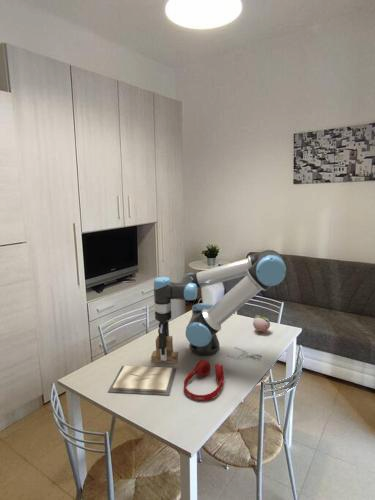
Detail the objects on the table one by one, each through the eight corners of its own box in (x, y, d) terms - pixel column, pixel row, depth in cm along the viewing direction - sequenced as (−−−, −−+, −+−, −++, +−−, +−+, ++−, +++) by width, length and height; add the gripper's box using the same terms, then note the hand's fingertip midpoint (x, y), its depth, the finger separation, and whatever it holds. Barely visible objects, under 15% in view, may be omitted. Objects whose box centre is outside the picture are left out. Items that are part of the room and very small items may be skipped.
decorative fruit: (250, 333, 181) (250, 316, 179) (255, 327, 187) (255, 311, 185) (266, 337, 176) (267, 319, 174) (271, 331, 183) (272, 314, 180)
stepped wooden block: (178, 357, 158) (177, 336, 155) (176, 362, 153) (176, 341, 151) (153, 356, 159) (152, 335, 157) (151, 361, 154) (150, 340, 152)
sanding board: (176, 368, 148) (176, 365, 148) (169, 395, 129) (169, 392, 129) (122, 366, 151) (122, 363, 150) (107, 392, 132) (107, 389, 132)
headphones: (199, 368, 147) (178, 399, 131) (198, 354, 145) (176, 385, 129) (230, 376, 141) (212, 410, 124) (230, 362, 138) (211, 395, 122)
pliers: (234, 344, 166) (264, 351, 159) (234, 347, 166) (263, 354, 159) (227, 353, 157) (257, 361, 150) (227, 356, 158) (257, 364, 151)
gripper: (158, 303, 160) (160, 347, 165) (150, 318, 143) (153, 367, 147) (174, 303, 159) (175, 347, 164) (167, 318, 142) (169, 367, 146)
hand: (164, 356), depth 156 cm, fingers closed on stepped wooden block, 5 cm apart
